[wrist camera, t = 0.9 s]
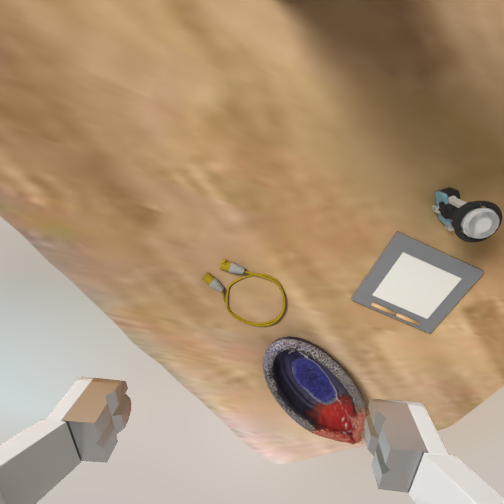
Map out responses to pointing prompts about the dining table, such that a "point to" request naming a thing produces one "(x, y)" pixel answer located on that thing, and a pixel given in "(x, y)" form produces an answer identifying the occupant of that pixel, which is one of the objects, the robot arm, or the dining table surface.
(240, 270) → the extension cord
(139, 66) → the dining table surface
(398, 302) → the grey board
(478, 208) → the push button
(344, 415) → the dish
